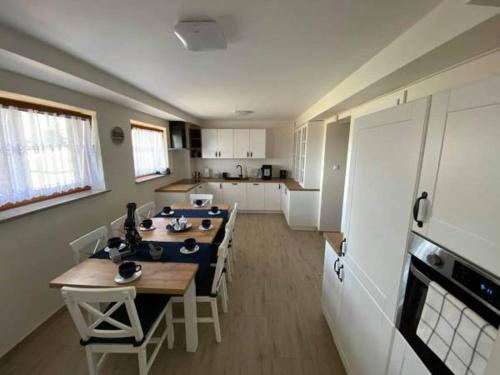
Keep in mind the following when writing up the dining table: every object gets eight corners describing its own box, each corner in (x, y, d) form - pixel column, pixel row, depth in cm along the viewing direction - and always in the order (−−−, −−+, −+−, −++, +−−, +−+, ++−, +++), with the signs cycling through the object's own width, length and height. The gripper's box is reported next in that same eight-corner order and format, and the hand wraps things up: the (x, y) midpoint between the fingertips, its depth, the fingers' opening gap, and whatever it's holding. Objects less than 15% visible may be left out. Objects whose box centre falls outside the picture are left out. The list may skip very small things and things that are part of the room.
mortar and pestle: (165, 254, 177) (164, 241, 174) (159, 260, 167) (158, 246, 165) (152, 254, 178) (151, 240, 175) (146, 259, 168) (145, 245, 166)
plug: (135, 251, 182) (134, 247, 181) (136, 253, 178) (136, 249, 178) (109, 258, 169) (109, 254, 168) (110, 261, 166) (110, 256, 165)
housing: (116, 253, 177) (116, 247, 176) (121, 261, 166) (120, 254, 165) (109, 255, 174) (108, 249, 173) (113, 263, 162) (113, 256, 161)
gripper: (144, 235, 174) (146, 252, 177) (137, 229, 187) (138, 245, 190) (129, 239, 166) (131, 257, 169) (123, 232, 180) (125, 249, 182)
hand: (132, 252), depth 178 cm, fingers closed on plug, 3 cm apart
